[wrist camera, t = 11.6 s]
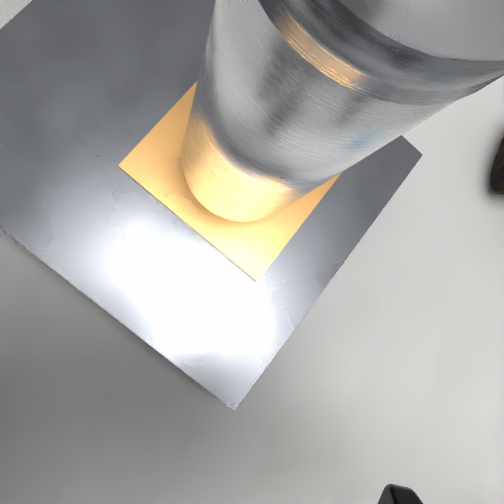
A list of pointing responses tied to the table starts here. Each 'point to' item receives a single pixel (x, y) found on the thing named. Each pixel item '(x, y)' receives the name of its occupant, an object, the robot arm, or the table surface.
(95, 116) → the plate
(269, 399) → the table surface
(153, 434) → the table surface
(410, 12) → the steel plug
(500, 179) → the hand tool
